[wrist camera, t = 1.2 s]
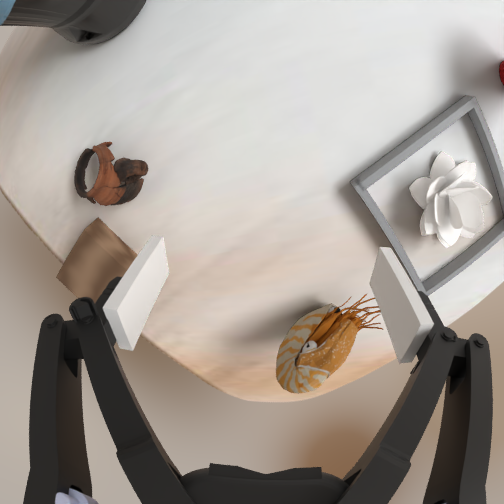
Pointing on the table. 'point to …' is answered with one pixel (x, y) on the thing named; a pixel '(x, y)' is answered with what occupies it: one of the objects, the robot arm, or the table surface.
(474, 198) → the lotus flower
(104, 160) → the broken clay pottery vessel
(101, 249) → the brown wooden square block
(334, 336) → the nautilus
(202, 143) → the table surface
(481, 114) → the slate frame
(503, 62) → the plastic cup
